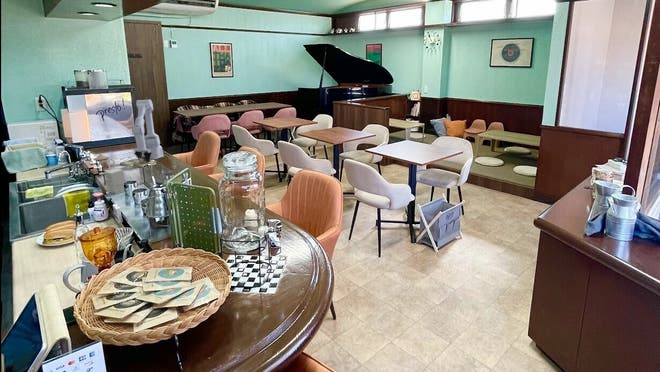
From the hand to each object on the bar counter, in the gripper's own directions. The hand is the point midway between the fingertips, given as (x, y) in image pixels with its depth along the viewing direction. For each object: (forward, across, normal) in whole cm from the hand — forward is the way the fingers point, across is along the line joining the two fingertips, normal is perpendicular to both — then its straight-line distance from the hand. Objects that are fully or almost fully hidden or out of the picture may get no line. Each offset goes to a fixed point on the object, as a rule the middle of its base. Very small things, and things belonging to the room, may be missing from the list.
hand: (144, 161), depth 289 cm
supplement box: (+2, +37, -50) cm, 62 cm away
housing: (+1, 0, 0) cm, 1 cm away
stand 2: (+2, 0, 0) cm, 2 cm away
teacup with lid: (+2, -16, -19) cm, 25 cm away
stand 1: (+2, -14, 0) cm, 14 cm away
